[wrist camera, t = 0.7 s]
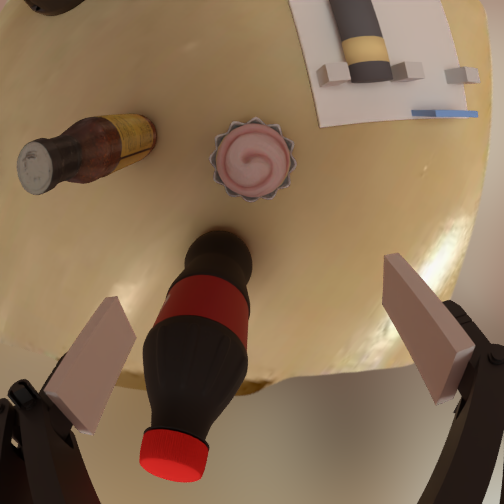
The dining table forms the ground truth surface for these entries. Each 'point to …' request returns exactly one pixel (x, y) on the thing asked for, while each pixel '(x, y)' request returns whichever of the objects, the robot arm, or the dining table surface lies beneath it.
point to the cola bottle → (196, 355)
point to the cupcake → (253, 160)
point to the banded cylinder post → (362, 41)
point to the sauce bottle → (85, 151)
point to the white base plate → (401, 61)
